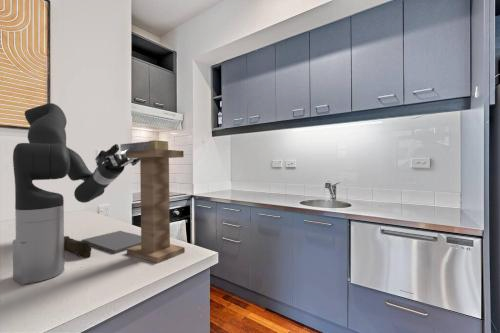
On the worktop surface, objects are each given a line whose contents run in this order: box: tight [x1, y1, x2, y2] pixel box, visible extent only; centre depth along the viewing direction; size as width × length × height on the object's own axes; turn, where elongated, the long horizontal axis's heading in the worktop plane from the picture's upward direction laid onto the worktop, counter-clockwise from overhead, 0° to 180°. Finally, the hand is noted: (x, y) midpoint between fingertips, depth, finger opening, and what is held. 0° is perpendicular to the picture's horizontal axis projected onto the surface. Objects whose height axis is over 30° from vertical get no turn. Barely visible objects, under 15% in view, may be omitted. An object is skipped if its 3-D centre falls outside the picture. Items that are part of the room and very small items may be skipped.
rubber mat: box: [82, 230, 141, 255], centre depth 88 cm, size 14×22×1 cm, turn 58°
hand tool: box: [64, 235, 92, 258], centre depth 78 cm, size 19×4×5 cm, turn 55°
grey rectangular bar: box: [119, 139, 169, 154], centre depth 80 cm, size 5×20×3 cm, turn 58°
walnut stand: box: [125, 149, 186, 264], centre depth 76 cm, size 10×15×32 cm, turn 58°
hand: (129, 147), depth 83 cm, fingers open, 8 cm apart
